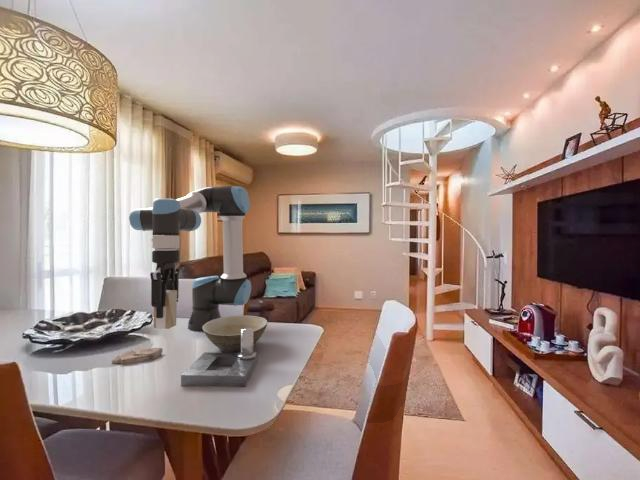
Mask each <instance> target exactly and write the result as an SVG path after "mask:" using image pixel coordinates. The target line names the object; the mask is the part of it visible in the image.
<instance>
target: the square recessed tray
mask: <svg viewBox="0 0 640 480" xmlns="http://www.w3.org/2000/svg"><path fill="white" fill-rule="evenodd" d="M238 353H239V352H238ZM238 353H229V352H209V351H208V352H203V353H202V354H201V355H200V356H199V357H198V358H197V359H196V360H195V361H194V362H193V363H192V364H191V365H190V366H189V367H188V368H187V369H186V370H185V371H184V372H183V373H182V374H181V375H180V387H181V386H182V387H233V388H234V387H235V388H236V387H238V388H239V386H240V387H241V388H243V387H246V386H247V384H248V381H249V379H250V378H251V376H252V374H253V372H254V371H255V369H254V368H256V367H255V366H257V365H258V362H259V353H258V352H256V357H255V358H253V359H249V360H242V359H239V358H238V357H237V355H238ZM218 366H219V367H225V366H226V367H230V366H231V367H230V369H228V370H215V369H216V368H217V367H218Z"/></svg>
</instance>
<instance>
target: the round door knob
mask: <svg viewBox="0 0 640 480" xmlns="http://www.w3.org/2000/svg"><path fill="white" fill-rule="evenodd" d="M256 353H257V352H256V351H254V346H253V328H252V327H244V328H241V352H238V355H237V357H238V358H239V359H242V360H249V359H253V358H255V357H256Z"/></svg>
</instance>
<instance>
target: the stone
mask: <svg viewBox="0 0 640 480" xmlns="http://www.w3.org/2000/svg"><path fill="white" fill-rule="evenodd" d="M162 354H163V348H162V347H136V348H134V349H131V350H129V351H125V352H124V353H122V354H120V355H117V356H116V357H115V358H114V359H112V360H111V363H112V364H121V365H129V364H133V363H139V362H144V361H145V362H146V361H150V360H156V359H157V358H159V357H160V356H161V355H162Z"/></svg>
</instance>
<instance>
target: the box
mask: <svg viewBox="0 0 640 480" xmlns="http://www.w3.org/2000/svg"><path fill="white" fill-rule="evenodd" d="M177 303H178V302H177V290H166V298H165V306H166V328H165V329H164V330H169V329H171V328H173V327H175V326H177V313H178V312H177V311H178V310H177V308H178V305H177ZM153 309H154V310H153V328H154V329H156V307H153Z"/></svg>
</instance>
